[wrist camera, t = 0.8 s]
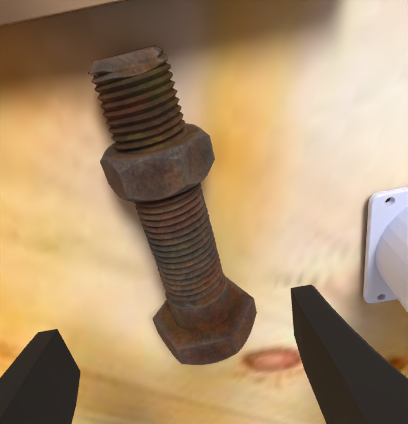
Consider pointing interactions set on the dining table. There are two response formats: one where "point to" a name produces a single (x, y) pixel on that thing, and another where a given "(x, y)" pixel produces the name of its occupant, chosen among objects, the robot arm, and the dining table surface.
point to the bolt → (171, 205)
